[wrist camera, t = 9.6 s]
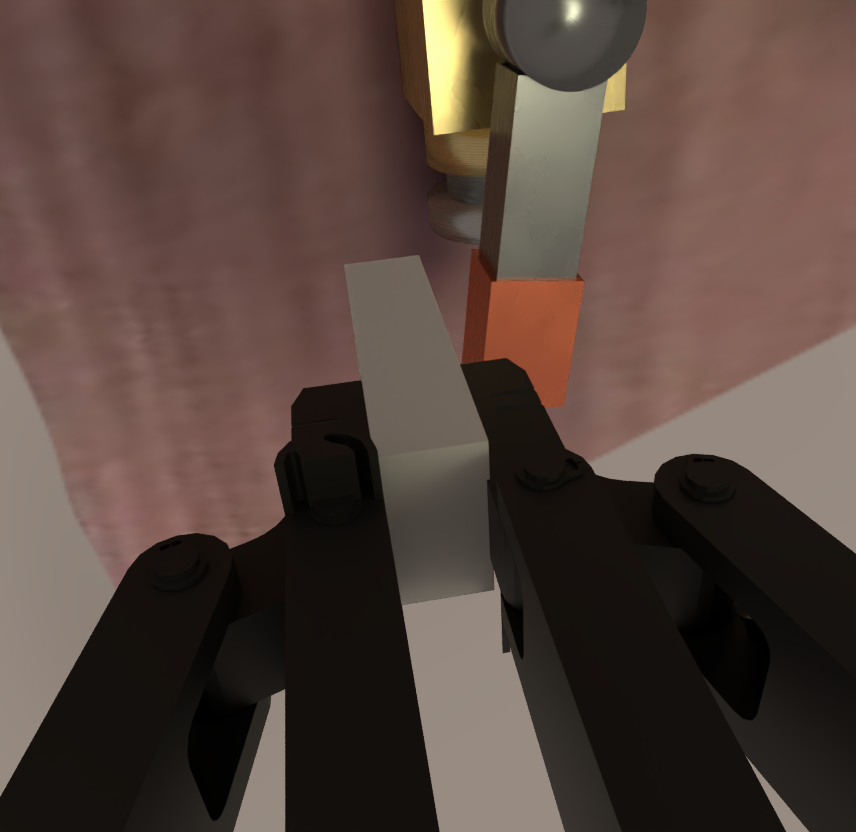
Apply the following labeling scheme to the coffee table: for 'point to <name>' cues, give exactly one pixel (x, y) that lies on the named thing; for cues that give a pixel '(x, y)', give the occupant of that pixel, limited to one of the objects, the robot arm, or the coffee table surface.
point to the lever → (541, 178)
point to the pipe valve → (457, 103)
